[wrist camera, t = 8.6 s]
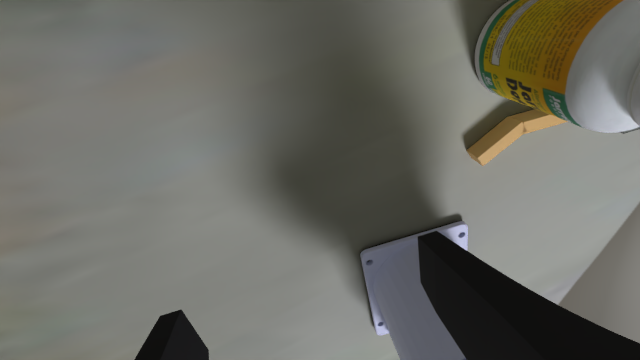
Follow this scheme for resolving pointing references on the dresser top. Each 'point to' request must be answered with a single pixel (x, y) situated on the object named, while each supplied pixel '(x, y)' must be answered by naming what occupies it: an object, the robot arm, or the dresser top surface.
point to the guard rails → (510, 133)
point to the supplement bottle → (566, 59)
